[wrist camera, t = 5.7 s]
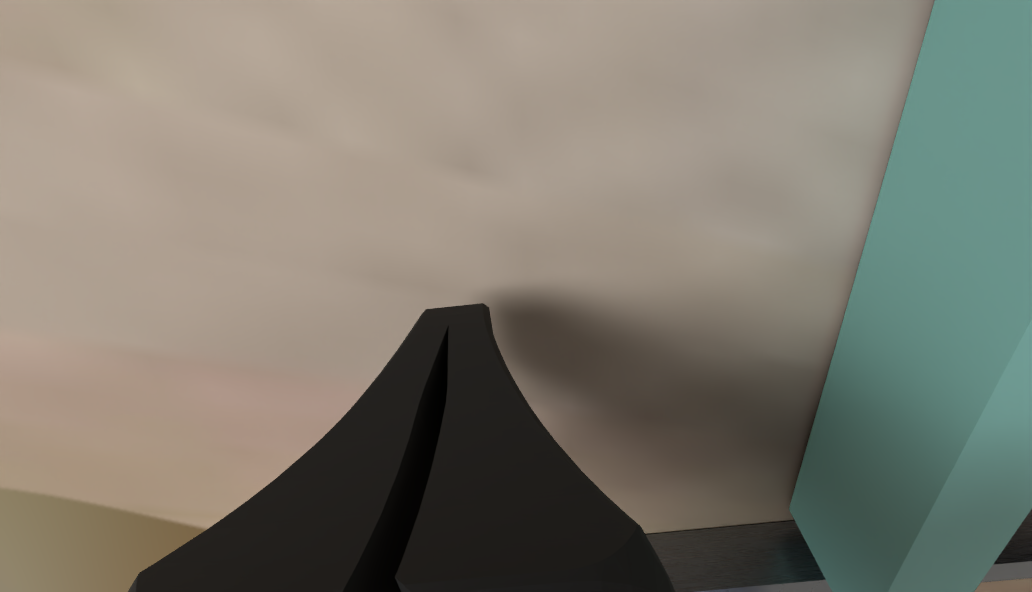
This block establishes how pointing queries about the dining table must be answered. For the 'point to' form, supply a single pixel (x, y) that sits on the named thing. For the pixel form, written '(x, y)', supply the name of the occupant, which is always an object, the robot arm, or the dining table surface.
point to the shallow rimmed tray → (781, 559)
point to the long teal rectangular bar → (936, 330)
